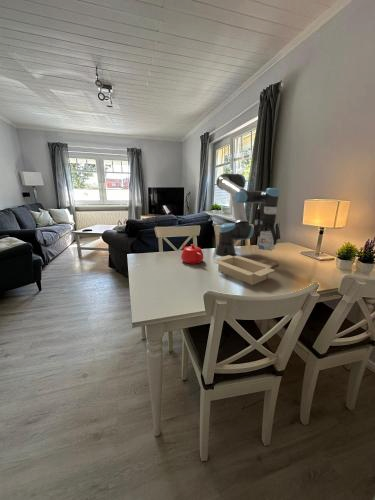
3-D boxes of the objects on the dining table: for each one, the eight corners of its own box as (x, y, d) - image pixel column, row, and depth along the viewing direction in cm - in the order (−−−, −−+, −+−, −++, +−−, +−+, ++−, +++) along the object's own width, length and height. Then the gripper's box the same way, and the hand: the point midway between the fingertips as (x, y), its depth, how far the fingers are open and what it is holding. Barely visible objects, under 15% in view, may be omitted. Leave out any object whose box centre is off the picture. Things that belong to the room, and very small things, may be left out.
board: (248, 263, 145) (248, 262, 144) (260, 260, 153) (260, 258, 153) (266, 270, 134) (267, 268, 134) (278, 265, 143) (278, 263, 142)
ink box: (258, 249, 140) (260, 231, 137) (259, 247, 144) (261, 230, 141) (271, 251, 136) (274, 233, 133) (272, 249, 141) (275, 231, 137)
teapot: (211, 264, 142) (212, 247, 138) (191, 268, 134) (192, 250, 130) (191, 254, 162) (191, 239, 159) (173, 257, 154) (173, 241, 151)
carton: (208, 270, 132) (209, 260, 130) (232, 263, 145) (232, 253, 144) (254, 289, 108) (255, 278, 106) (277, 279, 121) (278, 268, 119)
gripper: (251, 212, 140) (248, 244, 146) (283, 215, 123) (278, 252, 130) (257, 211, 144) (254, 243, 151) (290, 215, 128) (284, 250, 134)
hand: (265, 247), depth 140 cm, fingers closed on ink box, 10 cm apart
